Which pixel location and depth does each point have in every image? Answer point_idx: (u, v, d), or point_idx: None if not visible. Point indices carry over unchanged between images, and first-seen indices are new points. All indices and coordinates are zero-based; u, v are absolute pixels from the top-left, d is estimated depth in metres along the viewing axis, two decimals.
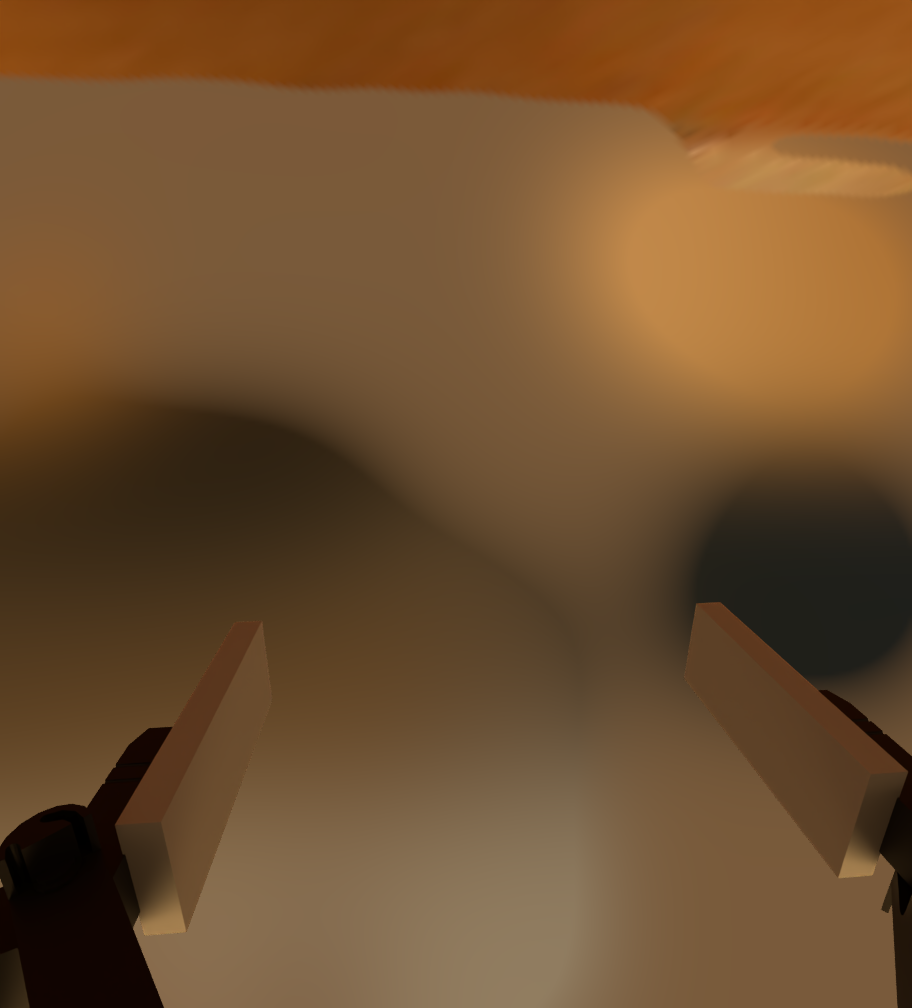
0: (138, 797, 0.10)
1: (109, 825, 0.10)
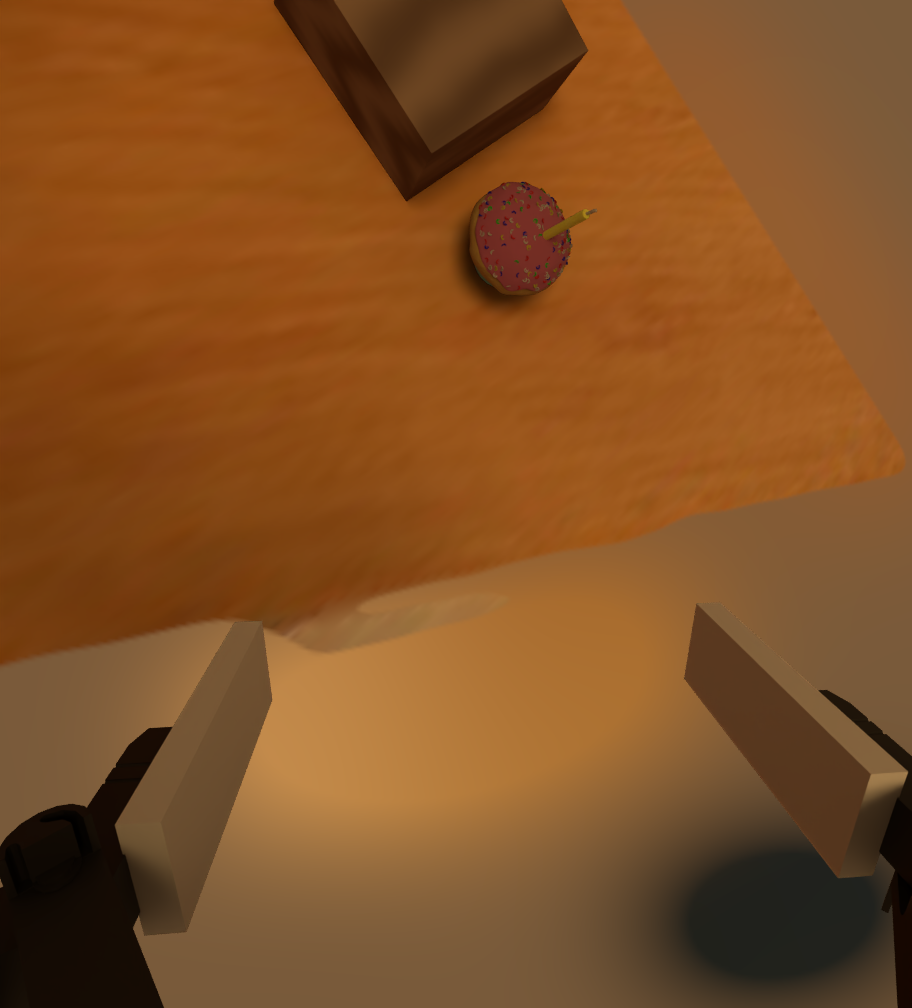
0: (138, 797, 0.10)
1: (109, 825, 0.10)
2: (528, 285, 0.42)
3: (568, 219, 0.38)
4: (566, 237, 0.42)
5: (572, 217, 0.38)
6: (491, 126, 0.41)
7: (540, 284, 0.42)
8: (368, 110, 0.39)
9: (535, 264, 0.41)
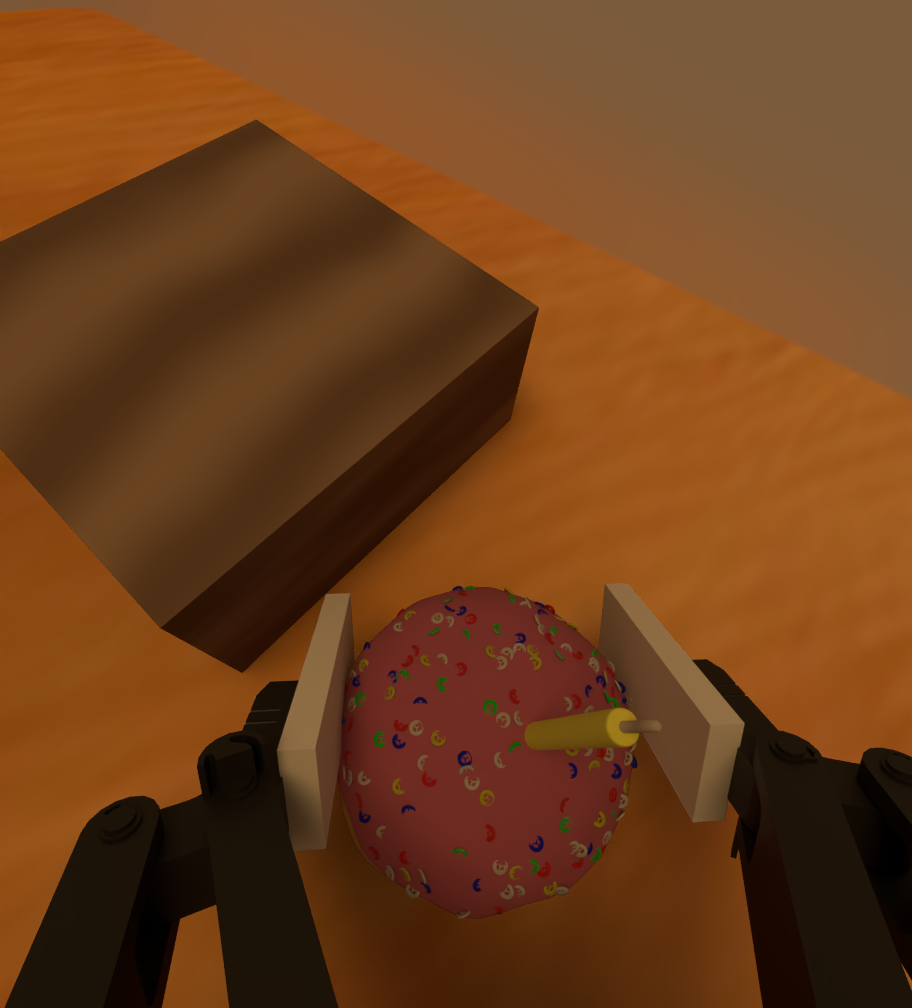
0: (289, 730, 0.11)
1: None
2: (526, 897, 0.13)
3: (572, 728, 0.11)
4: (606, 702, 0.15)
5: (581, 728, 0.10)
6: (372, 494, 0.19)
7: (567, 875, 0.13)
8: None
9: (526, 840, 0.13)
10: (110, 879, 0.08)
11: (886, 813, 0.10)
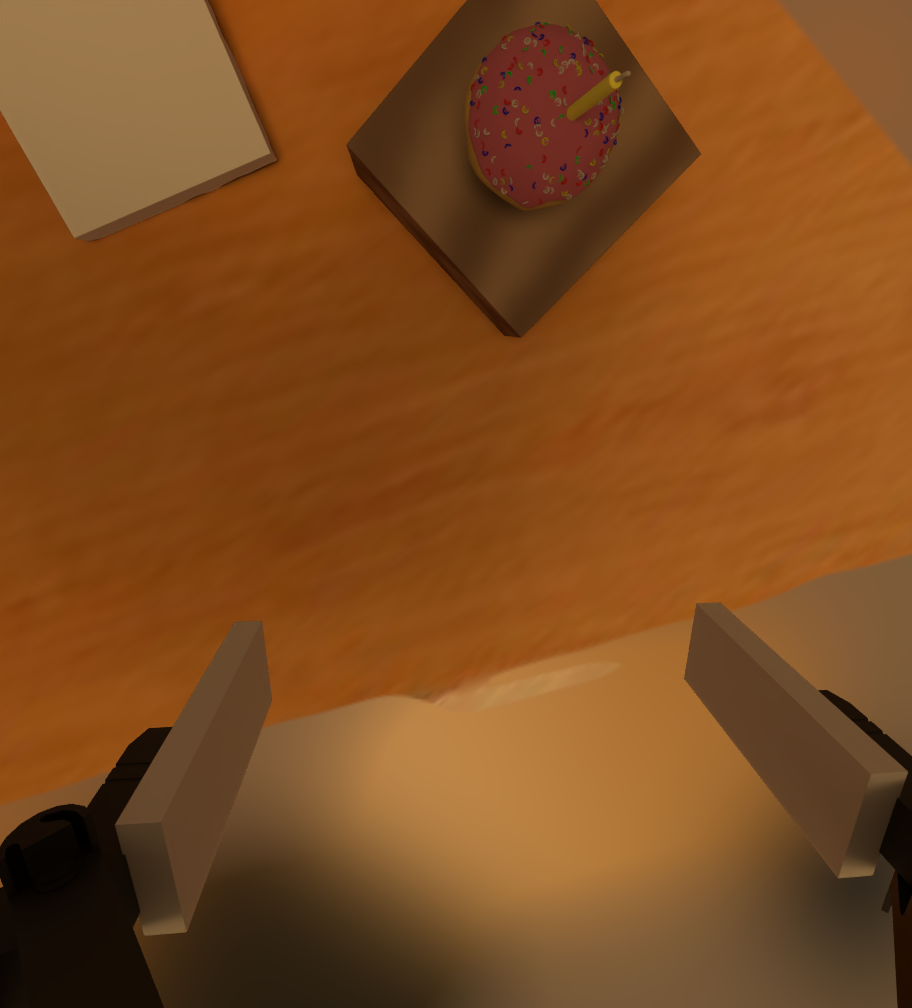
0: (138, 797, 0.10)
1: (109, 825, 0.10)
2: (553, 195, 0.30)
3: (593, 90, 0.25)
4: (609, 103, 0.28)
5: (597, 87, 0.24)
6: None
7: (572, 189, 0.30)
8: (457, 277, 0.39)
9: (559, 164, 0.28)
10: None
11: None
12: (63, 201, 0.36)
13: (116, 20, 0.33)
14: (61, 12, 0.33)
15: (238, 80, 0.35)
